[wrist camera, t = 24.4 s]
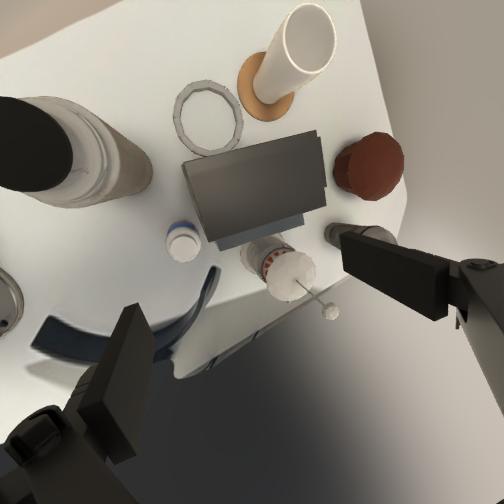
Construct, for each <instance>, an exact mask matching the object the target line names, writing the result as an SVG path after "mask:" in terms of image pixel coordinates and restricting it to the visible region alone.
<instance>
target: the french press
mask: <svg viewBox="0 0 504 504" xmlns="http://www.w3.org/2000/svg"><path fill="white" fill-rule="evenodd" d="M286 246H287V247H288V248H287V247H286ZM289 246H290V245H289ZM289 246H288V244H287V243H285V241H284V240H283V238H282V236H281V235H280V234H279V233H277V234H273V235H270V236H267V237H264V238H261V239H258V240H255V241H251V242H248V243H245V244H242V248H241V252H240V253H241V260H242V263H243V264H244V266H245V267H246V269H248V270H249V271H251V272H252V273H254V274H257V275H258V276H259V277H260V276H261V277H263V278H262V280H263V279H264V280H265V281H264V280H263V281H264V282H265V283H267V288H268V290H269V291H270V293H271V295H272V296H274V297H275V298H277V299H279V300H283V301H287V302H288V303H290V302H291V301H292V300H296V299H299V298H300V297H302V296H303V295H305V294H306V293H307V292H308V293H310V294H311V295H312V296H313V297H314V298H315V299H316V300H318V301H319V302H320V303H321V304H322V305H323V306H324V307H323V309H322V314H323V316H324V317H326V318H327V319H329V320H332V319H336V317H337V316H338V315H339V308H338V306H336V305H335V304H334V303H327V304H326V305H324V304H323V303H322V302H321V301H320V300H319V299H318V298H317V297H315V296H314V295H313V294H312V293H311V292H310V291H309V290H310V288H311V287H312V286H313V283H314V280H315V277H316V269H315V265H314V263H313V261H312V259H311V258H310V257H309V256H307V255H306V254H305V253H301V252H296V251H295V249H294V248H292V247H291V246H290V247H289ZM259 274H260V275H259ZM261 277H260V279H261Z"/></svg>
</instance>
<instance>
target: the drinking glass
mask: <svg viewBox="0 0 504 504" xmlns="http://www.w3.org/2000/svg"><path fill="white" fill-rule="evenodd" d="M335 49H336V31H335V27H334V24H333V21H332V19H331V17H330V15H329V14H328V13H327V11H326V10H325V9H324V8H322V7H321V6H320V5H318V4H315V3H312V2H305V3H301V4H299V5H297V6H296V7H294V8H293V9H292V10H291V11H290V13H289V14H288V15H287V17H286V18H285V19H284V21H283V22H282V24H281V25H280V27H279V28H278V30H277V32H276V33H275V35H274V37H273V39H272V41H271V43H270V45H269V48H268V50H267V52H266V54H265V57H264V59H263V61H262V63H261V65H260V67H259V70H258V71H257V73H256V74H255V77H254V80H253V90H254V93H255V95H256V97H257V98H258V99H259V100H260V101H261V102H262V103H265V104H273V103H276V102H277V101H278V100H280V99H281V98H283V97H285V96H286V95H288V94H290V93H292V92H293V91H295V90H297V89H299V88H301V87H302V86H304V85H306V84H307V83H309V82H310V81H311V80H313V79H314V78H315V77H316V76H318V75H319V74H320V73H321V72H322V71H323V70H324V69H325V68H326V67H327V66H328V65H329V63H330V62H331V60H332V58H333V56H334V53H335Z"/></svg>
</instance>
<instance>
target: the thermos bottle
mask: <svg viewBox="0 0 504 504" xmlns="http://www.w3.org/2000/svg"><path fill="white" fill-rule="evenodd" d="M152 172H153V171H152V165H151V162H150V160H149V158H148V156H147V155H146V154H145V152H144V151H143V150H142V149H140V148H139V147H138V146H136V145H135V144H134V143H132V142H131V141H130V140H128V139H127V138H126V137H124V136H123V135H121V134H120V133H119V132H117V131H116V130H115V129H113V128H112V127H111V126H109V125H108V124H107V123H105V122H104V121H103V120H101V119H100V118H98V117H97V116H96V115H94V114H93V113H91V112H90V111H88V110H87V109H86V108H84V107H82V106H80V105H78V104H76V103H74V102H72V101H69V100H65V99H62V98H58V97H48V96H41V97H27V98H18V99H16V98H12V97H2V96H0V186H1V187H4V188H7V189H10V190H13V191H19V192H22V193H24V194H26V195H28V196H30V197H33V198H35V199H37V200H39V201H41V202H43V203H46V204H49V205H52V206H55V207H62V208H82V207H87V206H91V205H95V204H98V203H102V202H106V201H109V200H113V199H117V198H120V197H124V196H128V195H132V194H135V193H138V192H140V191H142V190H144V189H145V188H146V187H147V186H148V185H149V183H150V181H151V178H152Z"/></svg>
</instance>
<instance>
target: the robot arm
mask: <svg viewBox="0 0 504 504" xmlns="http://www.w3.org/2000/svg"><path fill="white" fill-rule="evenodd" d="M339 238H340V246H341V254H342V262H343V269H344V271H345V272H347V273H349V274H350V275H352V276H354V277H356V278H357V279H359V280H361V281H363V282H365V283H366V284H368V285H370V286H372V287H374V288H375V289H377V290H379V291H381V292H383V293H384V294H386V295H388V296H390V297H391V298H393V299H395V300H397V301H398V302H400V303H402V304H404V305H406V306H407V307H409V308H411V309H413V310H415V311H416V312H418V313H420V314H422V315H423V316H425V317H427V318H429V319H431V320H432V321H437V320H439V319H441V318H444V317H446V316H448V304H450V305H453V306H455V307H457V309H456V329H459V326H460V325H461V326H462V328H463V330H464V332H465V335H466V337H467V339H468V341H469V343H470V345H471V347H472V350H473V352H474V354H475V356H476V358H477V360H478V363H479V365H480V367H481V369H482V371H483V373H484V375H485V378H486V380H487V382H488V384H489V386H490V388H491V390H492V393H493V395H494V397H495V399H496V401H497V403H498V406H499V408H500V410H501V412H502V414H503V416H504V263H503V264H498V263H497V262H494V261H491V260H486V259H466V260H463V261H461V262H457V261H453V260H450V259H446V258H443V257H440V256H436V255H433V254H430V253H425V252H423V251H419V250H416V249H408V248H405V247H402V246H398V245H395V244H392V243H388V242H385V241H382V240H378V239H375V238H372V237H368V236H365V235H362V234H358V233H355V232H352V231H346V232H344V233H341V234H339ZM22 310H23V299H22V295H21V292H20V290H19V288H18V286H17V285H16V283H15V282H14V281H13V279H12V278H11V277H10V276H9V275H8V274H6V273H5V272H4V271H3V270H1V269H0V339H1V338H3V337H4V336H5V335H6V334H7V333H8V332H9V331H10V330H11V329H12V328H13V327H14V326H15V325H16V324H17V322H18V321H19V319H20V317H21V314H22ZM155 344H156V339H155V337H154V335H153V333H152V331H151V329H150V327H149V325H148V322H147V320H146V318H145V316H144V314H143V312H142V310H141V308H140V305H139V303H135V304H132V305H129V306H127V307H124V309H123V311H122V313H121V315H120V318H119V320H118V322H117V324H116V326H115V328H114V331H113V333H112V335H111V337H110V339H109V341H108V343H107V346H106V348H105V350H104V352H103V354H102V356H101V359H100V361H99V363H98V364H95V365H93V366H90V367H89V368H88V369H87V370H86V372H85V373H84V374H83V375H82V376H81V377H80V379H79V381H78V383H77V385H76V387H75V389H74V391H73V392H72V394H71V398H69V400H68V402H67V404H66V406H65V408H64V410H63V412H62V411H61V409H60V408H59V406H56V405H50V406H46V407H44V408H41V409H39V410H37V411H36V412H34V413H33V414H31V415H30V416H28V417H27V418H25V419H24V420H23V421H22V422H21V423H20V424H18V425H17V426H16V428H15V429H14V430H13V431H12V432H11V433H10V434H9V436H8V438H7V439H6V441H5V443H4V449H5V451H6V452H7V453H8V454H9V455H10V456H11V457H12V458H13V459H14V460H15V461H16V463H17V464H18V465H19V466H17V467H16V468H14V469H13V470H11V471H10V472H8V473H7V474H5V475H3V476H2V477H0V504H139V503H138V502H137V501H136V500H135V499H134V497H133V496H132V495H131V494H130V493H129V492H128V490H127V489H126V488H125V487H124V486H123V484H122V483H121V482H120V481H119V480H118V479H117V477H116V476H115V475H114V474H113V473H112V472H111V470H110V469H109V468H108V467H107V466H106V464H105V461H106V458H107V455H108V456H109V458H110V459H111V461H112V462H113V464H114V465H116V464H118V463H120V462H123V461H125V460H127V459H129V458H132V457H134V456H136V455H137V452H138V446H139V440H140V434H141V428H142V422H143V415H144V410H145V404H146V398H147V392H148V386H149V380H150V374H151V368H152V362H153V356H154V350H155ZM497 504H504V499H503V500H501V501H500V502H498V503H497Z"/></svg>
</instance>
